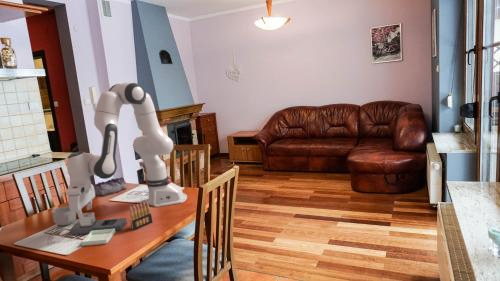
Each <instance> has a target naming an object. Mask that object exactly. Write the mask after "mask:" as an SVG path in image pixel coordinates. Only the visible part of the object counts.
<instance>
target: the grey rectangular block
mask: <svg viewBox="0 0 500 281" xmlns="http://www.w3.org/2000/svg"><path fill="white" fill-rule="evenodd" d="M78 219H79V222H80V224H81V228H83V227H92V226H93V225H94V224H95V223H96V221H97V220H96V216H95V212H85V213H84V212H83V217H82V218H79V217H78Z"/></svg>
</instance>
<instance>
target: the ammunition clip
mask: <svg viewBox="0 0 500 281" xmlns="http://www.w3.org/2000/svg"><path fill="white" fill-rule="evenodd" d="M129 213H130V214H129V216H130V227H131V230H130V231H137V230H139V229H141V228H143V227H146V226H148V225H151V224H153V216H152V213H151V208H150V206H149V204H148V200H145V201H142V203H141V202H139V204H138V203H137V204H136V206H135V205H133V207H132V206H131V205H130V207H129Z"/></svg>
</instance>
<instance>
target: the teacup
mask: <svg viewBox="0 0 500 281" xmlns="http://www.w3.org/2000/svg"><path fill="white" fill-rule="evenodd" d="M51 214H52V219H53V222H54V223H55V224H56V225H58V226H59V227H61V226H62V227H63V226H68V225H72V224H73V223H74V221H76V219H77V213H76V211H74V212H72V211H71V210H70V208H69V205H66V206H60V207H57V208H55V209H53V210H52V211H51Z"/></svg>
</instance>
